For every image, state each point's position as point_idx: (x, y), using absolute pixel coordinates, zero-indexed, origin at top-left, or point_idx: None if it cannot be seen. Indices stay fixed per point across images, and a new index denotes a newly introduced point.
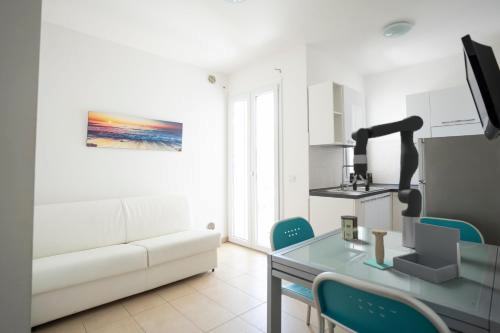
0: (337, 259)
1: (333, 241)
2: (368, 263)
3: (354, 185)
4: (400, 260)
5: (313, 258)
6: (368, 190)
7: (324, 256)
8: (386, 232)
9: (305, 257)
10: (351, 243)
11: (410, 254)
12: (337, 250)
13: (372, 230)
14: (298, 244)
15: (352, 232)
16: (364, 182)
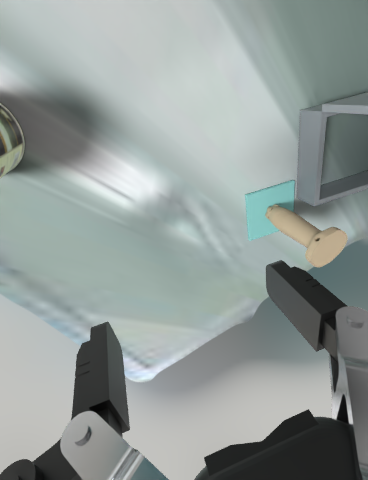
0: (210, 280)
1: (36, 229)
2: (261, 235)
3: (126, 408)
4: (329, 200)
5: (189, 320)
6: (284, 268)
7: (184, 298)
8: (345, 236)
9: (178, 332)
10: (74, 176)
11: (323, 144)
12: (148, 256)
13: (315, 263)
14: (68, 334)
15: (14, 150)
16: (335, 386)
